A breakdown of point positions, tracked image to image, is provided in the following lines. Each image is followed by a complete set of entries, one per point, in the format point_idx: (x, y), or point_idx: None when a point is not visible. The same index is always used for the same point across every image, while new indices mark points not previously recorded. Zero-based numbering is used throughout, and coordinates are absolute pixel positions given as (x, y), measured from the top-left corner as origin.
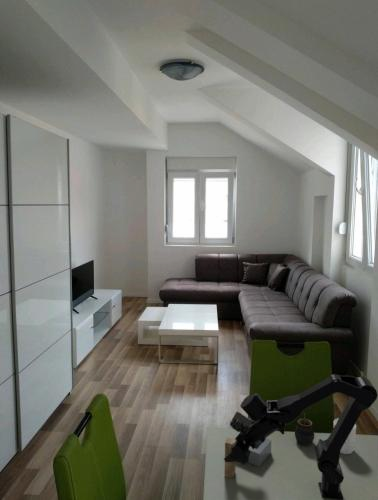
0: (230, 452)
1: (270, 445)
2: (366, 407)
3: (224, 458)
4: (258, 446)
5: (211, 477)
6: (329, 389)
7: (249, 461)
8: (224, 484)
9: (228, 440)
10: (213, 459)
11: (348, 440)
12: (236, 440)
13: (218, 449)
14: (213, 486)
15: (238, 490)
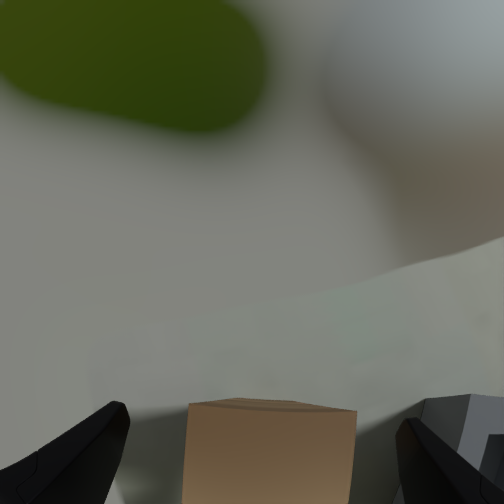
0: (13, 472)
1: None
2: None
3: (104, 407)
4: (502, 486)
5: (204, 328)
6: None
7: (400, 493)
8: (167, 407)
9: (276, 450)
10: (361, 300)
11: None
12: (426, 479)
13: (443, 300)
14: (139, 352)
15: (146, 479)
